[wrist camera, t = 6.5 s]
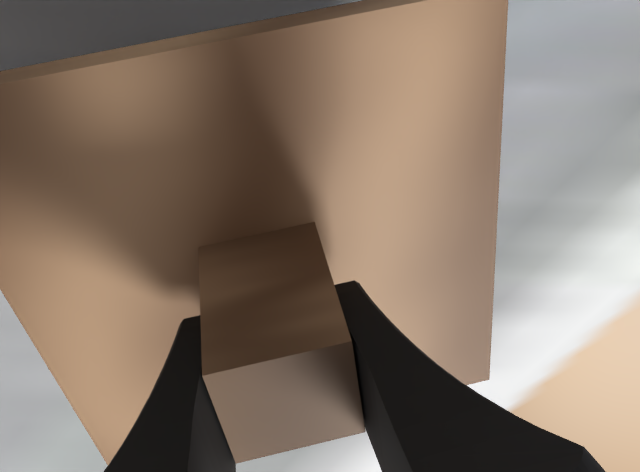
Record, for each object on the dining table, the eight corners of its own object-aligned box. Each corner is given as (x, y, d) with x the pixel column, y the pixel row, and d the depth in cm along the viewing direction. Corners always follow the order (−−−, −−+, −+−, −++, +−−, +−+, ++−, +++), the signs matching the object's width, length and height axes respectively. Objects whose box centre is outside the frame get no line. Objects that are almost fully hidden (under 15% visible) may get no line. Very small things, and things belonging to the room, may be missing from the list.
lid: (492, -25, 12) (629, 48, 9) (479, 360, 20) (550, 495, 16) (-95, 89, 12) (-234, 226, 8) (113, 447, 19) (95, 611, 15)
